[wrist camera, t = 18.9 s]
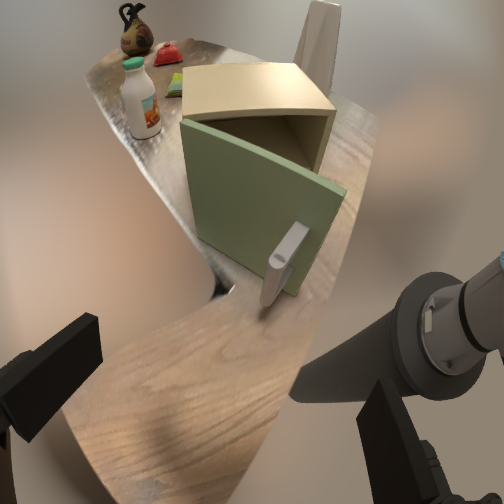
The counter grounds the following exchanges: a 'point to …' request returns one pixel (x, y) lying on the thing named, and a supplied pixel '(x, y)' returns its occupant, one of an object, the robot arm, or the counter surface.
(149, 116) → the milk bottle
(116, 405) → the counter surface
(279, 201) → the cupboard door
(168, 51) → the butter dish
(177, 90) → the dish towel
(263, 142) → the cupboard
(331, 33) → the tall faceted taper
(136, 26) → the ceramic jug
